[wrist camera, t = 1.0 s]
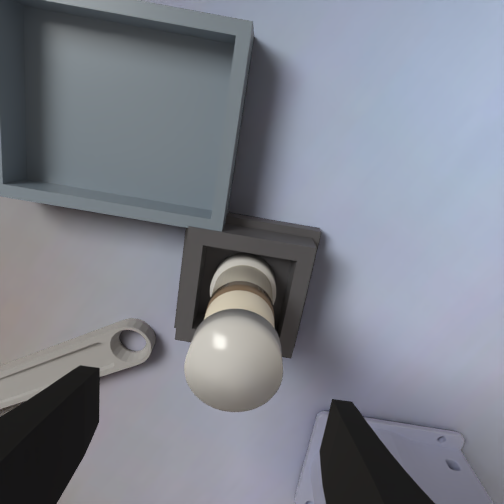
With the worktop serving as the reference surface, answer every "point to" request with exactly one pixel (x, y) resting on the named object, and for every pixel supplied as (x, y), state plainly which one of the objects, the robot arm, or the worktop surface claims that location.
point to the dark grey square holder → (255, 242)
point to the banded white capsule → (237, 338)
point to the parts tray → (122, 107)
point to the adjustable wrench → (73, 360)
